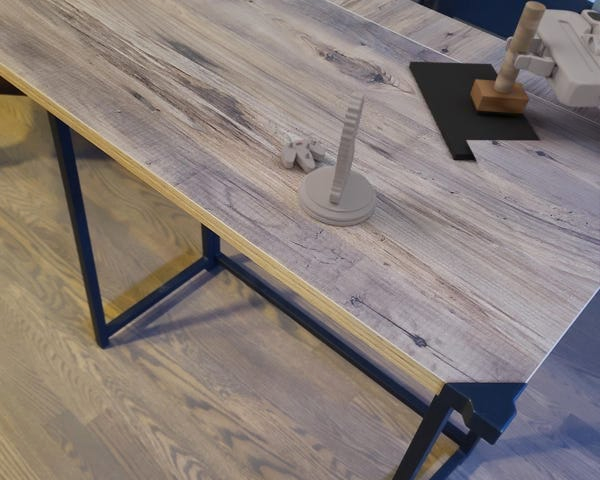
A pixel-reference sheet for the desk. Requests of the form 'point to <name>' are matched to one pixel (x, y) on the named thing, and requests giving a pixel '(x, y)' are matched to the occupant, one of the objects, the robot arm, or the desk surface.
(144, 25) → the desk surface
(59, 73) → the desk surface
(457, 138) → the notched black mat
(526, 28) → the wooden peg stand
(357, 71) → the desk surface
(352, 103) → the grey upright stand
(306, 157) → the game controller
